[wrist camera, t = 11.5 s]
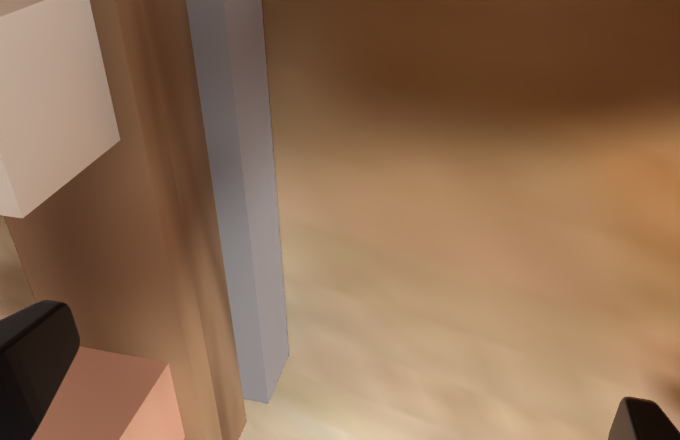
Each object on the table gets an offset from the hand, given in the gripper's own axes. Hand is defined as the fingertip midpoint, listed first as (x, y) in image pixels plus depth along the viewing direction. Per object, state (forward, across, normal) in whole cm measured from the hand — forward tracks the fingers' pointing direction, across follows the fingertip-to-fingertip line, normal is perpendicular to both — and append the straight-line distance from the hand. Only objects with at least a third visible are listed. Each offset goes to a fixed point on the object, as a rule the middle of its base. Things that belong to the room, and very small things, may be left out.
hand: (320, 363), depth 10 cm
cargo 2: (+6, +10, +10) cm, 16 cm away
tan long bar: (+10, +9, +4) cm, 14 cm away
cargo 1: (+6, +9, -2) cm, 12 cm away
